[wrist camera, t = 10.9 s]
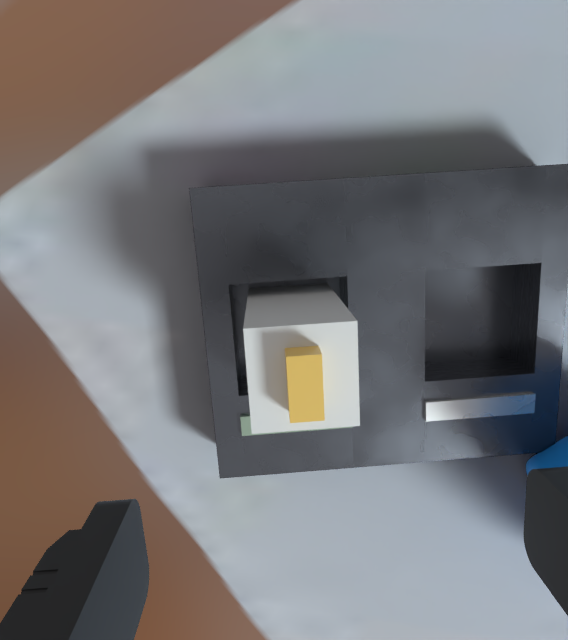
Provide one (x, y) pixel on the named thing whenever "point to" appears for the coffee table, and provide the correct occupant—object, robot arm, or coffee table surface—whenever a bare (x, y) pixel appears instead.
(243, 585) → the coffee table surface
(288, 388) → the plug
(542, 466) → the alarm clock
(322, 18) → the coffee table surface
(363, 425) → the panel
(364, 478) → the coffee table surface
